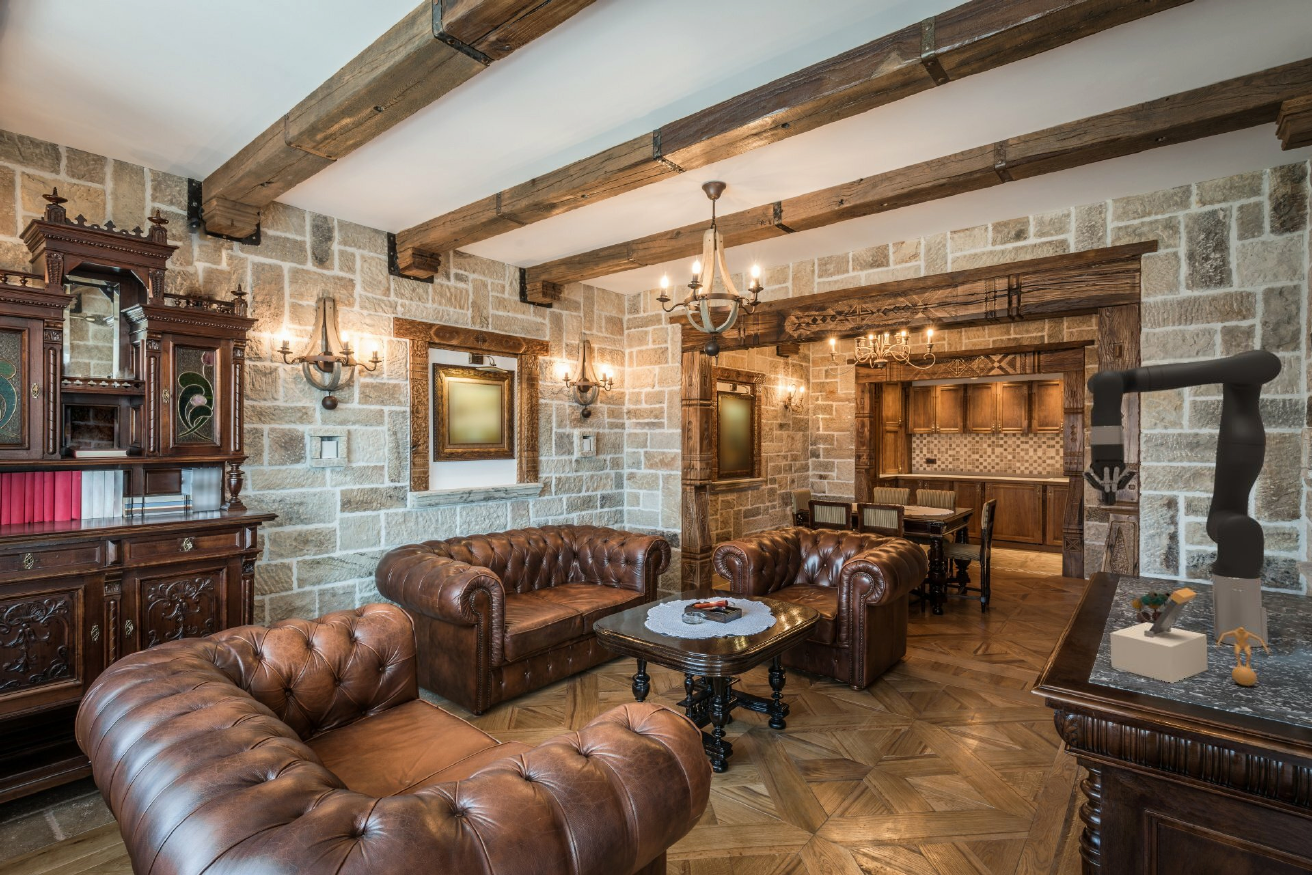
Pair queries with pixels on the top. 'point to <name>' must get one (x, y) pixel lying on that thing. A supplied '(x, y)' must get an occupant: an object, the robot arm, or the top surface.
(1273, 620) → the top surface
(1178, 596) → the handle
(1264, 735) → the top surface
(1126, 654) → the breaker housing
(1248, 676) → the figurine
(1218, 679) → the top surface
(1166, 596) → the binoculars
